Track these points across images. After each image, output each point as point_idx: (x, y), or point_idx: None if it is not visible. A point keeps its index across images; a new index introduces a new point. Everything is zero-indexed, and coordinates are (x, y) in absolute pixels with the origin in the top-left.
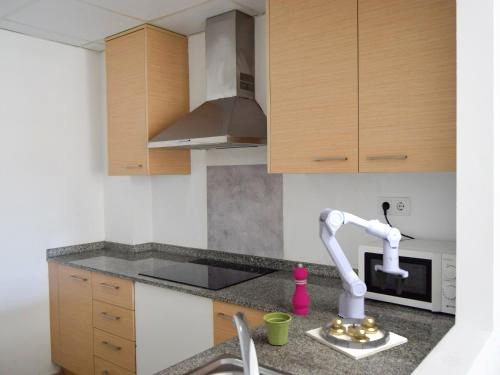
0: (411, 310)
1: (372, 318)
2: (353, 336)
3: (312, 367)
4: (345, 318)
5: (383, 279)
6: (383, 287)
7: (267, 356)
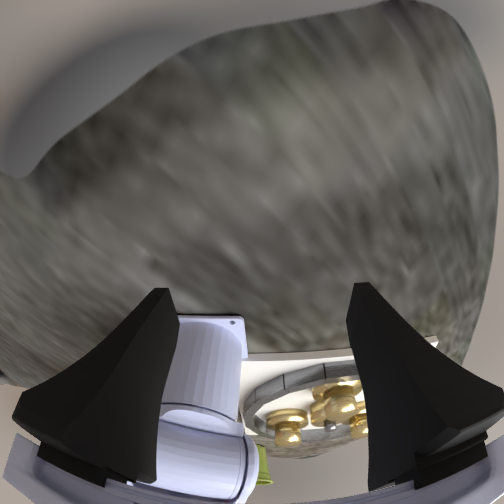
0: (270, 40)
1: (351, 410)
2: (344, 421)
3: (343, 443)
4: (256, 407)
5: (142, 391)
6: (171, 327)
7: (281, 455)
